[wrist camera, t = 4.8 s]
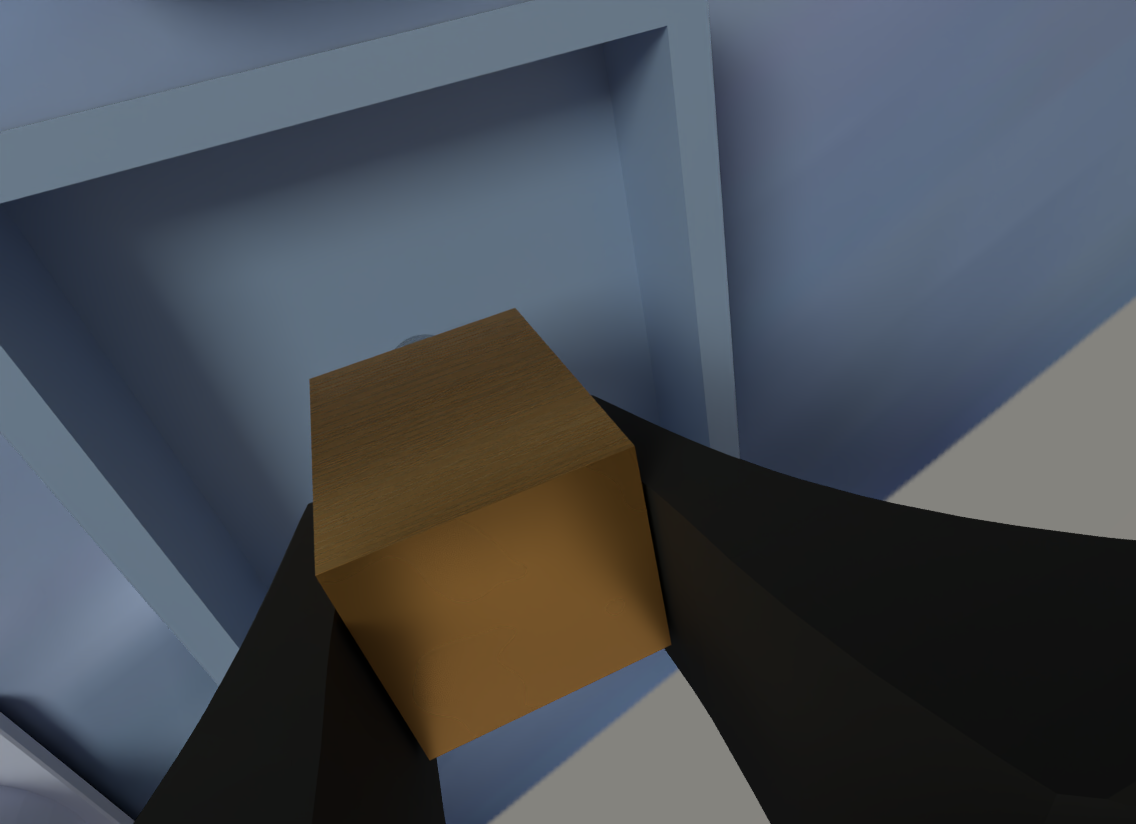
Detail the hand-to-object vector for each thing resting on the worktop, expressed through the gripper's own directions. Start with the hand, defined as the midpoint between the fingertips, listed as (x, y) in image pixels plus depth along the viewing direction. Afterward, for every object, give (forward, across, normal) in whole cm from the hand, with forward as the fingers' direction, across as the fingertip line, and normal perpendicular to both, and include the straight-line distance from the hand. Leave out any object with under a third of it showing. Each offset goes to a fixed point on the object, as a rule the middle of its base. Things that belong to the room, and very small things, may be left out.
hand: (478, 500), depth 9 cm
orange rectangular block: (+4, 0, -1) cm, 4 cm away
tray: (+5, 0, 0) cm, 5 cm away
